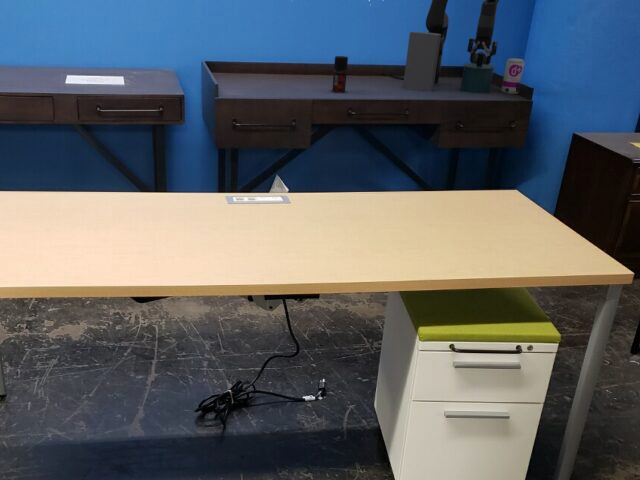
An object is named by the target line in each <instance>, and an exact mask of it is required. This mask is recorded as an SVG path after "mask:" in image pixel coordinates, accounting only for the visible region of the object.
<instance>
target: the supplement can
mask: <svg viewBox="0 0 640 480" xmlns="http://www.w3.org/2000/svg"><path fill="white" fill-rule="evenodd" d="M524 67H525V60H524V59H522V58H516V57H515V58H513V57H511V58H508V59H507V61H506V62H505V69H504V74H503V79H502V84H501V89H500V90H501V92H502V94H507V95H517V94H518V93H519V92H516V85H517V84H516V83H518V84H520V85H521V84H522V78H523V72H524Z"/></svg>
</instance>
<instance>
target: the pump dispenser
mask: <svg viewBox="0 0 640 480" xmlns="http://www.w3.org/2000/svg"><path fill="white" fill-rule="evenodd" d="M478 53H484V58H483V63H482V64H486V58H487V53H486V52H485V51H478V52H477V51H476V52H475V58H474V62H470V63H475V64H477V59H478Z"/></svg>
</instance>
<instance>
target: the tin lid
mask: <svg viewBox="0 0 640 480" xmlns="http://www.w3.org/2000/svg"><path fill="white" fill-rule="evenodd" d="M477 53H478V52H477ZM484 53H485V52H484ZM484 53H478V59H477V64H475V63H471V62H470V63H464V64H463V68H464V67H466V68H471V69H479V70H491V69H494V70H495V69H496V66H494V65H491V64H489V65H486V64H482V63H483V58H484Z"/></svg>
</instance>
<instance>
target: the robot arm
mask: <svg viewBox="0 0 640 480" xmlns="http://www.w3.org/2000/svg"><path fill="white" fill-rule="evenodd" d="M448 2H449V0H431V3H430V6H429V9H428V13H427V15H426V18H425V28H426V30H427V31H428V32H427V33H436V34H441V40H440V47H439V54H438V61H437V67H436V74H435V81H434V86H438V85H439V80H440V74H441V66H442V61H443V60H442V59H443V53H444V46H445V43H446V40H447V35H448V30H449V22H450V21H449V20H450V19H449V16H448V13H446V9H447V5H448ZM499 2H500V0H483V1H482V2H481V6H480V12H479V17H478V20H477V25H476V26H477V27H476V32H475V38H474V37H470V38H469V39H468V44H467V53H470V56H469V62H470V63H471V62H474V58H475V52H476V53H477V51H479V50H482V51H484V53H485V54H486V56H487V58H486V65H490V64H491V62H492V61H491V60H492V57H493V56H496V55H497V50H498V41H497V40H494V41H493V35H494V30H495V24H496V15H497V10H498V5H499ZM474 44H475V45H474ZM390 74H391V73H390ZM390 74H387V75H388V76H390V77H392V78H395V79H398V80H401V81H404V77H401V76H397V75H395V74H392V75H390ZM384 75H386V74H385V73H384V72H383V73H381V76H384Z"/></svg>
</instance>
